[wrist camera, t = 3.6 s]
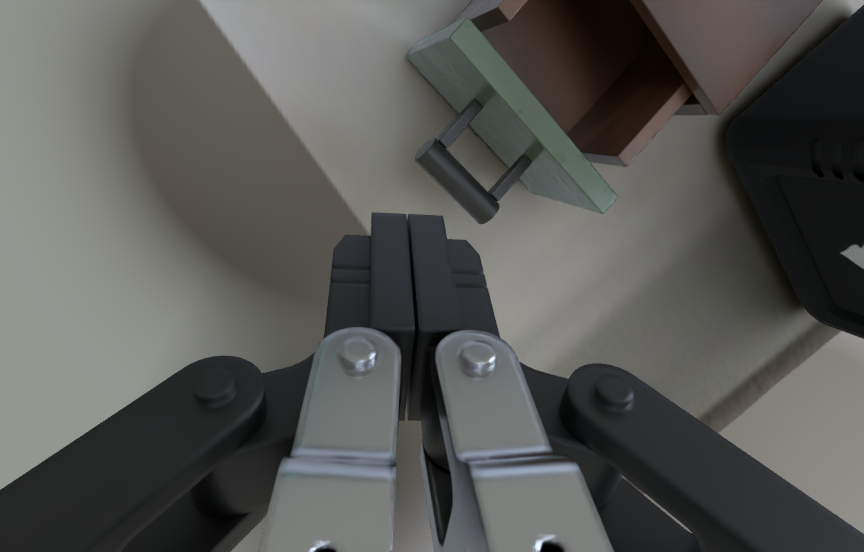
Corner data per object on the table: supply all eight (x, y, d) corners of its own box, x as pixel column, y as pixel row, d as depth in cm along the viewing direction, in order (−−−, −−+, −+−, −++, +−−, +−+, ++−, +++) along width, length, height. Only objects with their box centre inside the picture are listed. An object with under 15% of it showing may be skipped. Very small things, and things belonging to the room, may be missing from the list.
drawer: (488, 244, 35) (546, 278, 28) (353, 113, 30) (381, 113, 23) (677, 33, 34) (785, 12, 27) (569, -130, 30) (665, -207, 23)
